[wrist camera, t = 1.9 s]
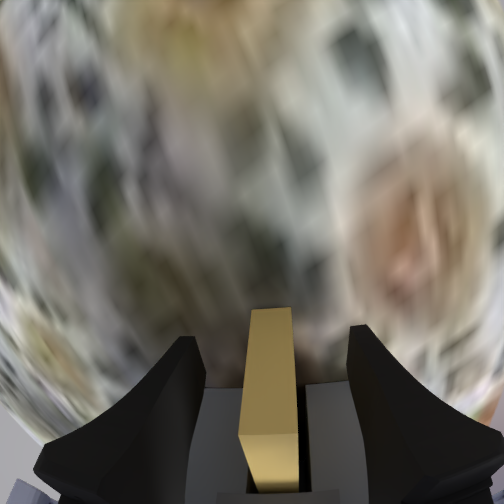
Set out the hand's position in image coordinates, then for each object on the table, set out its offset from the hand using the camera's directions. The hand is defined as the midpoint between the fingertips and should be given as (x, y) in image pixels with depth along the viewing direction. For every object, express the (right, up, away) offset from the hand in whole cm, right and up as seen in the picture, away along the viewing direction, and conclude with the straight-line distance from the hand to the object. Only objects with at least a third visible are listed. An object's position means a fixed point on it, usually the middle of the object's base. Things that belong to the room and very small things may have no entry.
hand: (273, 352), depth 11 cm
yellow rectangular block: (+1, -3, +3) cm, 4 cm away
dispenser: (+1, -7, +5) cm, 9 cm away
